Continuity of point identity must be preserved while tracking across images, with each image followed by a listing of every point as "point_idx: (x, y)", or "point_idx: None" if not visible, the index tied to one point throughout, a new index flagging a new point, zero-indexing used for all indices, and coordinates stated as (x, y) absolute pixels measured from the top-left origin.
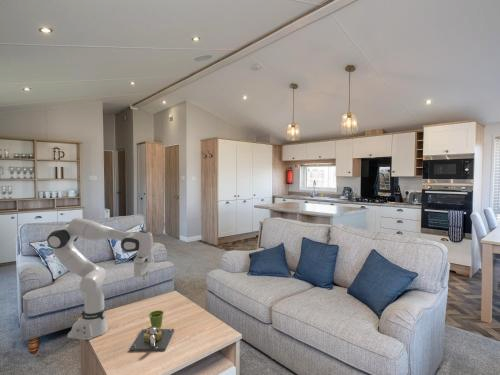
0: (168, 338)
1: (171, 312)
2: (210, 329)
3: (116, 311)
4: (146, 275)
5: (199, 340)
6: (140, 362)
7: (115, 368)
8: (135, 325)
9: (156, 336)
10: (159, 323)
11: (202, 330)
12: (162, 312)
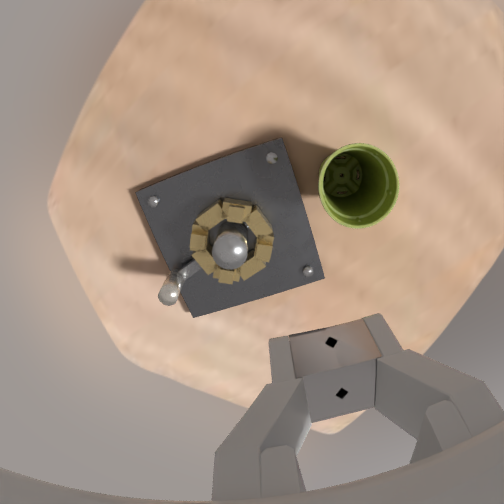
0: (251, 296)
1: (460, 171)
2: None
3: None
4: (380, 401)
5: None
6: (110, 274)
7: (58, 219)
8: (320, 67)
9: (215, 272)
10: (336, 203)
11: None
12: (387, 205)
